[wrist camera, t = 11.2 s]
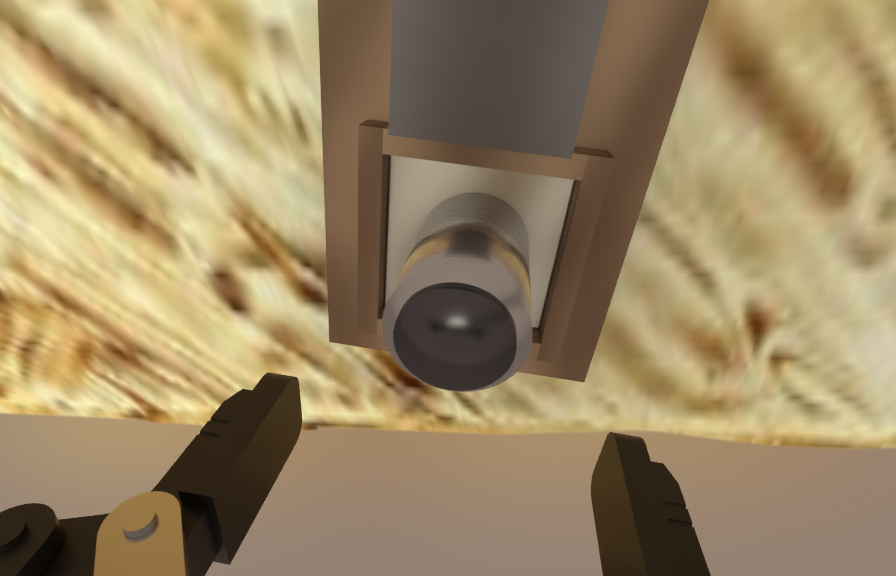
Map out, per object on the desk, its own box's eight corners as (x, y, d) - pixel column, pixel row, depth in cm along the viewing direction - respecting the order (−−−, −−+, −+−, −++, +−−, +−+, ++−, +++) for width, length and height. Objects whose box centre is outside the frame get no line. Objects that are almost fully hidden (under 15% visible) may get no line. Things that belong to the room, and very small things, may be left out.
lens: (540, 203, 20) (550, 293, 13) (515, 300, 22) (514, 413, 16) (426, 183, 20) (382, 261, 14) (415, 281, 23) (374, 385, 16)
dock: (750, -167, 15) (1021, -393, 7) (581, 367, 26) (611, 515, 18) (323, -205, 15) (131, -447, 8) (336, 329, 26) (262, 454, 19)
